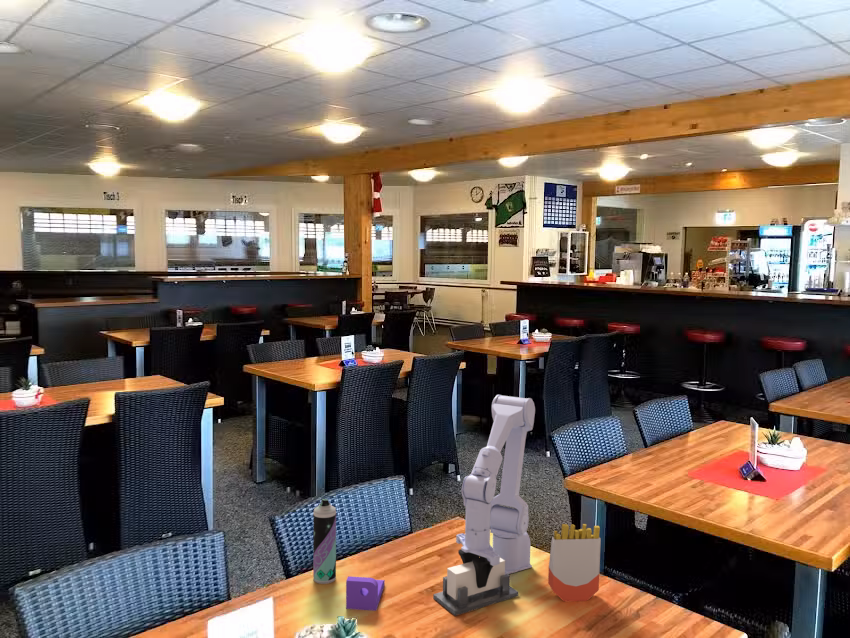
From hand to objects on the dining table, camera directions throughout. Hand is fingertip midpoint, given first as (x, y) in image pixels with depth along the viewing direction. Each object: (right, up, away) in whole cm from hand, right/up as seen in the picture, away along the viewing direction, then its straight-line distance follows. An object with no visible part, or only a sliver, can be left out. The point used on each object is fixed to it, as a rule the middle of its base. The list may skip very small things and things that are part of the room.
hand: (476, 583), depth 156 cm
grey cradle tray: (0, -3, 0) cm, 3 cm away
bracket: (-26, -4, 0) cm, 26 cm away
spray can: (-37, -2, +8) cm, 38 cm away
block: (0, -1, 0) cm, 1 cm away
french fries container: (+23, -4, +1) cm, 23 cm away
